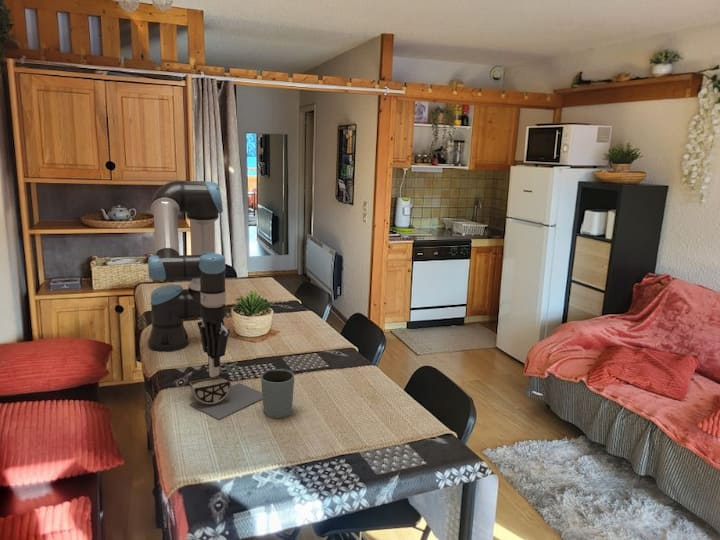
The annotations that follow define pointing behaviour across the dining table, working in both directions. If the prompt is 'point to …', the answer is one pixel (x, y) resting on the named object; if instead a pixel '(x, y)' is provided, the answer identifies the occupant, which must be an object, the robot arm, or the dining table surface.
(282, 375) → the grey green cup
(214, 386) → the food container
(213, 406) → the mat
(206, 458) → the dining table surface
